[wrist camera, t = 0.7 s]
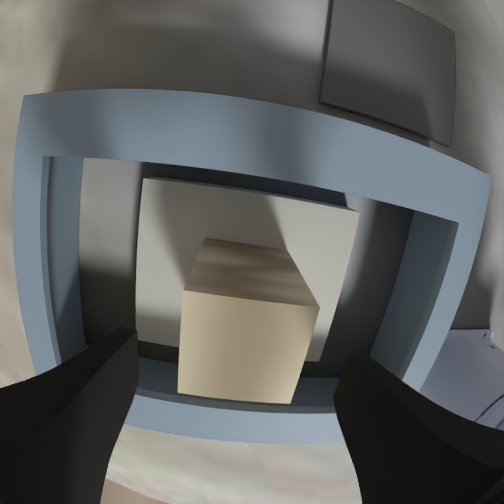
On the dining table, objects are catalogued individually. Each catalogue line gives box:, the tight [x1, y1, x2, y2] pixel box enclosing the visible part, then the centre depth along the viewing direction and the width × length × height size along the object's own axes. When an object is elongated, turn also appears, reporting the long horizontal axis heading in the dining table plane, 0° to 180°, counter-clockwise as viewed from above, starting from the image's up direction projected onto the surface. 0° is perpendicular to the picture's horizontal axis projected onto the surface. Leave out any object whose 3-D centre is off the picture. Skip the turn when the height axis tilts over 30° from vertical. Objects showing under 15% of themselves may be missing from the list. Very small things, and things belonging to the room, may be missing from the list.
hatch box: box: [12, 89, 492, 444], centre depth 16 cm, size 24×18×6 cm
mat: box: [319, 0, 456, 147], centre depth 15 cm, size 10×10×1 cm
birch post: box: [178, 238, 320, 404], centre depth 14 cm, size 4×4×7 cm
